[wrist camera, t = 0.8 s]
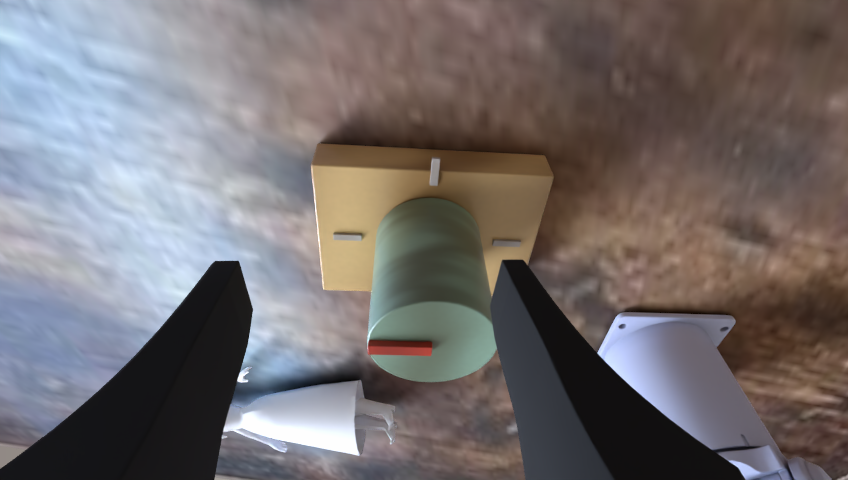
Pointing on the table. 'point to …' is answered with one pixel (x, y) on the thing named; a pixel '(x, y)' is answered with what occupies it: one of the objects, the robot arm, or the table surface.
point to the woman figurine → (312, 417)
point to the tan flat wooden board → (422, 178)
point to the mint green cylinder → (430, 293)
